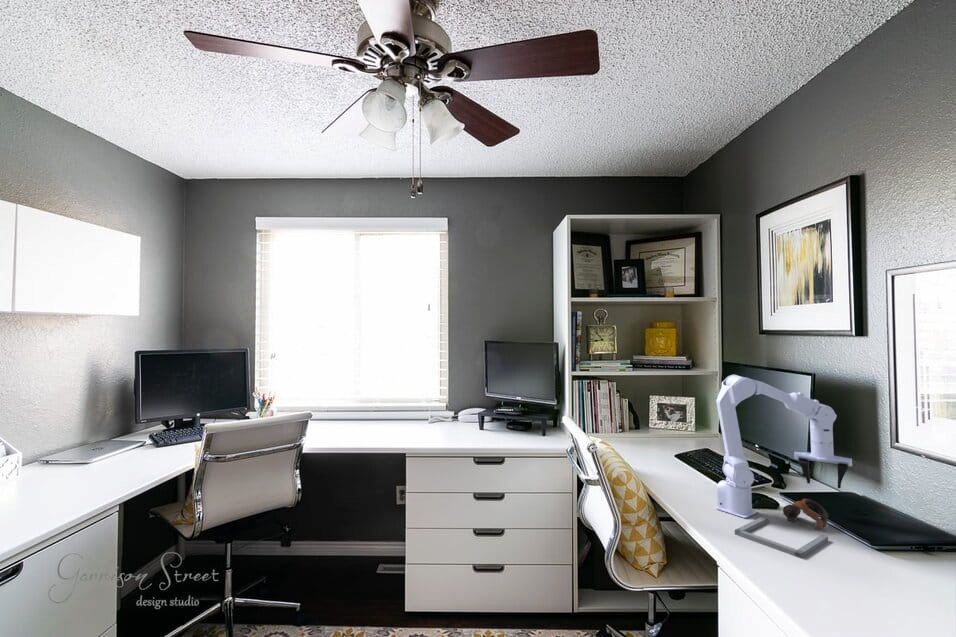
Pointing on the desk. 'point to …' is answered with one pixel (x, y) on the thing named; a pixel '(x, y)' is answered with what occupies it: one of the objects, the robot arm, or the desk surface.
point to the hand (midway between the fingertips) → (823, 484)
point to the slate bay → (799, 553)
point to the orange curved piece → (806, 512)
